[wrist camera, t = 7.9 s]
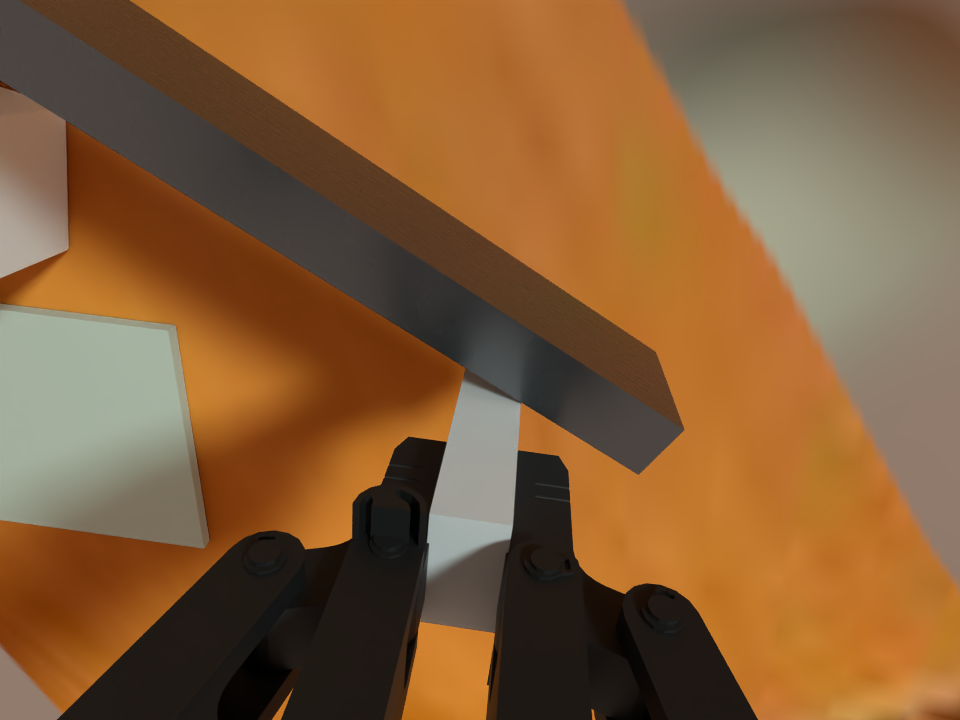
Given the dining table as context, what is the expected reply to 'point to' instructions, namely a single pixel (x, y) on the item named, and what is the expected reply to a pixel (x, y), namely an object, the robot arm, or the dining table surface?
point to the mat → (97, 427)
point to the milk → (31, 183)
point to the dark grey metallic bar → (336, 216)
